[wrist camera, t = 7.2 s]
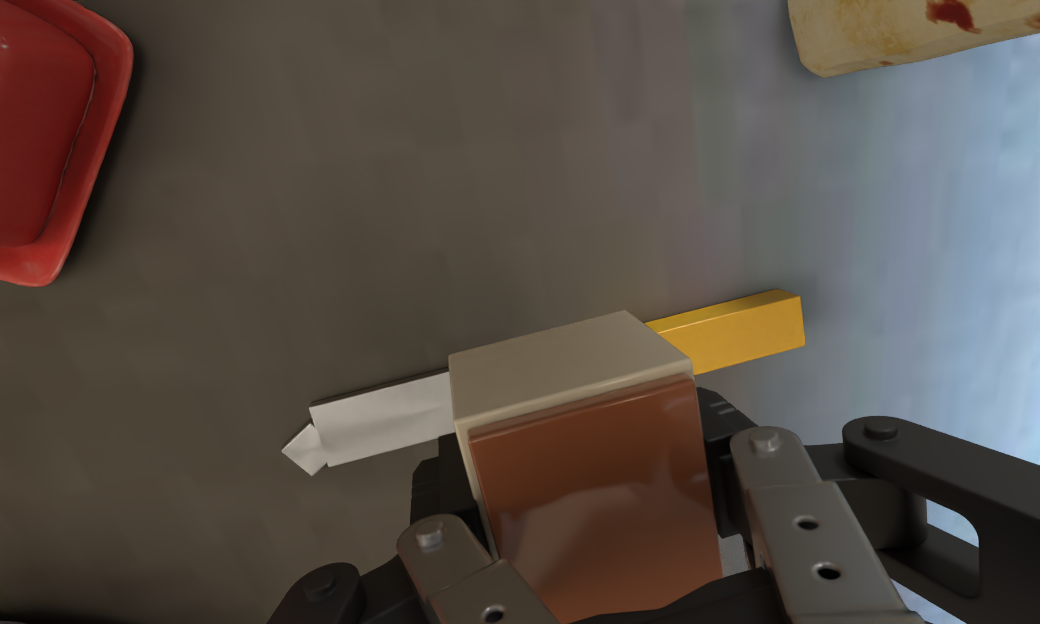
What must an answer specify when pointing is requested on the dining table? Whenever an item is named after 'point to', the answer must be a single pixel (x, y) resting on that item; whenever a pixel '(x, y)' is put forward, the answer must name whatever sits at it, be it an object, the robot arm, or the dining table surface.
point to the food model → (901, 30)
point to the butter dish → (53, 127)
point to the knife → (427, 397)
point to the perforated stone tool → (9, 623)
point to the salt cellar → (589, 464)
